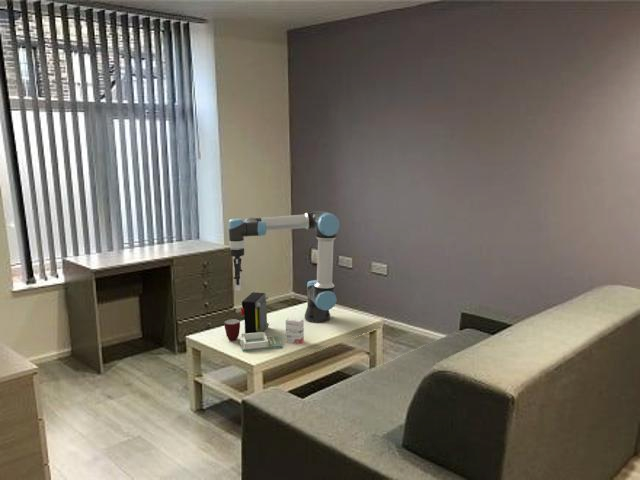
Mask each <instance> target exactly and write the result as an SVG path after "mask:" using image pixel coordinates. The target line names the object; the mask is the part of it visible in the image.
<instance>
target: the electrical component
mask: <svg viewBox="0 0 640 480" xmlns="http://www.w3.org/2000/svg"><path fill="white" fill-rule="evenodd" d="M267 300H269V296H268V295H267V294H266V293H265V292H254V291H252V292H251V293H250V294H249V295H248V296H246V297H245V298H244V299H243V300H242V301H241V307H242V308H240V311H241V314H242V316H244V334H247V333H257V332H265V330H266V329H267V328H269V326H270V324H269V322H268V315H267V313H268V312H267V310H268V309H267Z"/></svg>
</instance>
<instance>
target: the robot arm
mask: <svg viewBox="0 0 640 480" xmlns="http://www.w3.org/2000/svg"><path fill="white" fill-rule="evenodd" d="M292 229H293V230H295V229H306V230H315V234H314V235H315V238H316V239H317V258H316V259H317V262H316V264H317V265H316V279H314V280H310V281H308V282H307V285H306V288H307V290H306V291H307V293H306V294H307V305H306V306H307V307H306V310H305V313H304V320H305V321H307V322H310V323H314V324H315V323H317V324H318V323H326V322H328V321H329V320H331V313H330V310H332V309H333V308H334V307H335V306H336V303H337V300H338V299H337V296H336V294H335V284H334V283H333V268H334V267H333V264H334V262H333V261H334V244H335V243H334V242H335V240H336V239H337V236H338V235H337V233H338V231H339V230H340V221H339V219H338V217H337V216H336V215H335V214H334V213H331V212H328V211H326V210H316V211H309V212H305V213H303V214H294V215H293V214H292V215H281V216H280V215H279V216H268V217H267V216H266V217H248V218H246V219H245V220H243V219H242V218H231V219H229V220H228V237H229V238H228V239H229V241H228V245H229V248H230V249H229V255H230V257H234V258H233V266H234V277H233V279H234V282H235V283H234V284H235V286H234V288H235V292H239V291H241V290H242V287H241V284H243V283H242V272H243V269H242V257H243V256H245V239H244V238H245V237H261V236H266V235H267V232H269V231H282V230H292Z"/></svg>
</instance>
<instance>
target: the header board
mask: <svg viewBox="0 0 640 480" xmlns="http://www.w3.org/2000/svg"><path fill="white" fill-rule="evenodd" d="M239 344H240V346H241V352H243V353H245V352H254V351H262V350H274V349H282V348H283V345H282V342H281V340H280V338H279V336H278V335H275V336H274V335H273V336H267V335H266V332H265V331H263V332H257V333H247V334H245V333H241V337H240V339H239Z"/></svg>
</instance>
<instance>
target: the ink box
mask: <svg viewBox="0 0 640 480" xmlns="http://www.w3.org/2000/svg"><path fill="white" fill-rule="evenodd" d="M304 320H305V319H302V318H293V317H292V318H291V317H289V318H287V319H285V342H286V343H289V344H299V345H301V344H302V343H303V342H304V341H305V339H304V336H305V335H304V333H305V331H304V330H305V327H304Z"/></svg>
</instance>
